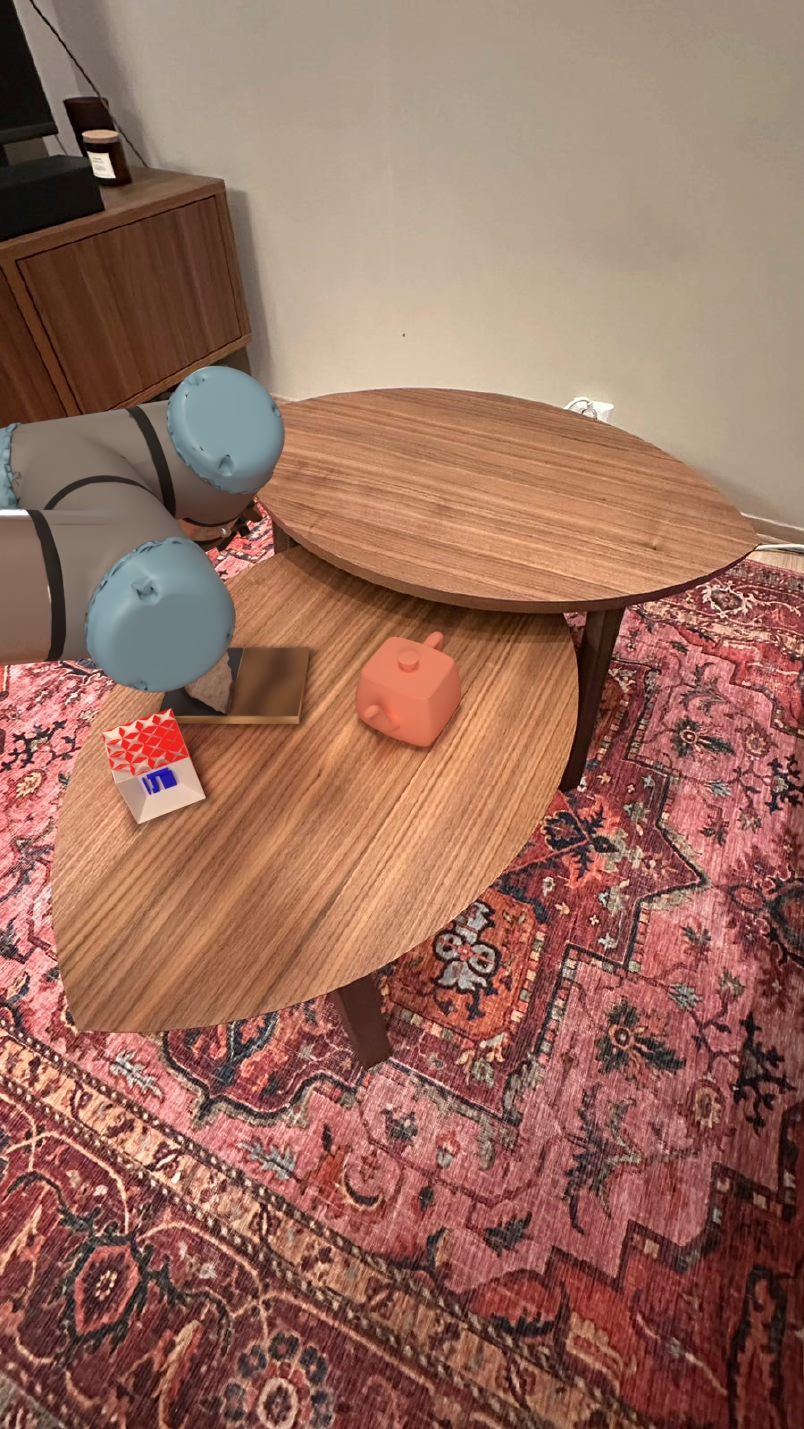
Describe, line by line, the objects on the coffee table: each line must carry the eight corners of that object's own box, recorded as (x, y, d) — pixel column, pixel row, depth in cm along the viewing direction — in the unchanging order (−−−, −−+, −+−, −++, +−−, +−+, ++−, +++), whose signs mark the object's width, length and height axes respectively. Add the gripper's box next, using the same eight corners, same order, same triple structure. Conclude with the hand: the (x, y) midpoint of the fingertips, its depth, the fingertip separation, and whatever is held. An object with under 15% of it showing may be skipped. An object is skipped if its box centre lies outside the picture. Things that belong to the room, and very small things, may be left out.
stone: (153, 651, 94) (120, 654, 85) (185, 598, 93) (155, 594, 83) (244, 711, 95) (221, 720, 85) (277, 659, 94) (258, 662, 84)
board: (159, 723, 87) (156, 716, 86) (182, 653, 96) (179, 645, 95) (299, 724, 87) (298, 717, 86) (310, 653, 96) (309, 646, 94)
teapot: (476, 689, 91) (482, 630, 83) (410, 787, 80) (409, 730, 72) (401, 660, 94) (400, 601, 87) (329, 750, 84) (320, 692, 76)
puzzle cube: (188, 750, 84) (171, 708, 78) (206, 797, 80) (189, 756, 74) (123, 774, 82) (100, 732, 76) (137, 824, 77) (114, 784, 72)
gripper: (72, 601, 52) (70, 643, 72) (336, 489, 63) (273, 551, 82) (19, 511, 51) (31, 577, 70) (297, 411, 62) (242, 493, 81)
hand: (161, 563), depth 76 cm, fingers open, 13 cm apart
